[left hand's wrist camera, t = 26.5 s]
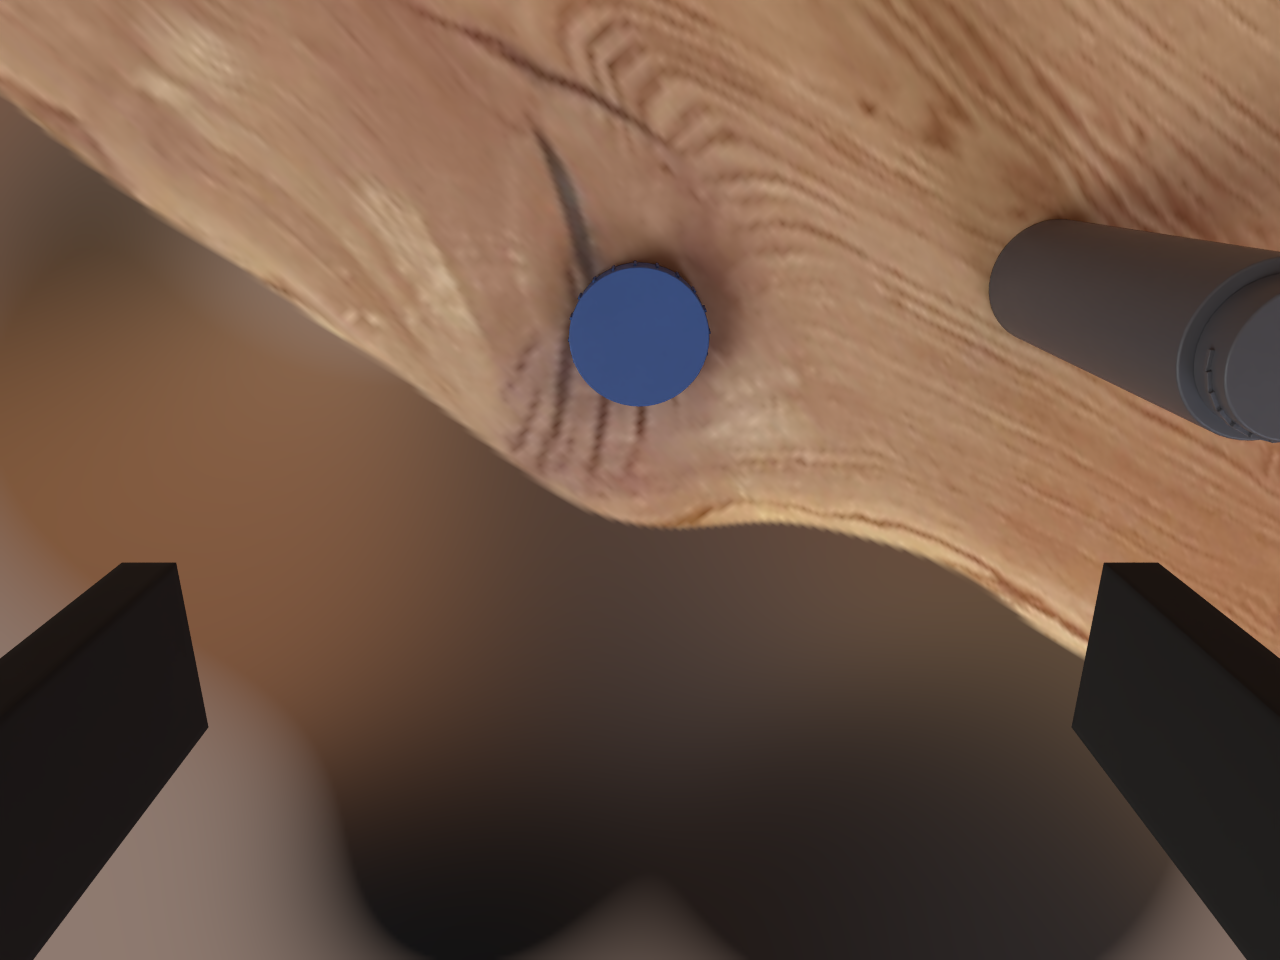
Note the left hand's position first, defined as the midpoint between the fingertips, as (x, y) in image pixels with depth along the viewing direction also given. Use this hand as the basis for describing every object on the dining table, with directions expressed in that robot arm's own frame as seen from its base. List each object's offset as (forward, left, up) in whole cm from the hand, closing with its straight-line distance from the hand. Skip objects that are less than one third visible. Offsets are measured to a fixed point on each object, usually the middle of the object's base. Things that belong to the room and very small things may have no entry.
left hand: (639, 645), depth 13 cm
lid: (0, 0, -24) cm, 25 cm away
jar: (-8, +15, -26) cm, 31 cm away
